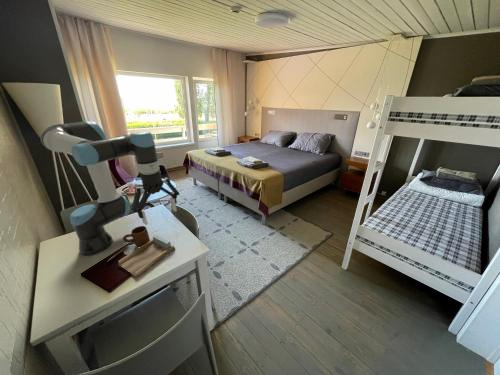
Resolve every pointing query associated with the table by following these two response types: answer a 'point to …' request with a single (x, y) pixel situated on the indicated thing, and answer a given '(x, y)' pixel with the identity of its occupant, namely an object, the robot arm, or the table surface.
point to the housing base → (144, 258)
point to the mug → (138, 236)
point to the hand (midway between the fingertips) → (160, 216)
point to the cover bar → (161, 241)
